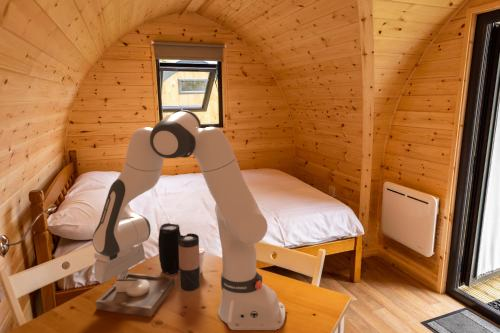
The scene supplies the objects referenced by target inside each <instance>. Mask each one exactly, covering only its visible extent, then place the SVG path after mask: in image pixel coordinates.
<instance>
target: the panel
mask: <svg viewBox="0 0 500 333" xmlns="http://www.w3.org/2000/svg"><path fill="white" fill-rule="evenodd" d="M126 279H138V280H146V281H148V282H149V287H150V290H149V292H148V293H146V294H144V295H142V296H138V297H131V296H128V295H127V293H126V292H116V282H115V283H114V284H113V285H111V287H109V289H108V290H106V292H104V293H103V294H102V295H101V296H100V297H99V298H98V299H96V301H95V309H96V310H98V311H106V312H112V313H120V314H121V313H122V314H128V315H135V316H136V315H137V316H144V317H153V315H154V314H155V313H156V311H157V310H158V308H159V307H160V306H161V304H162V303H163V302H164V301H165V299H166V298H167V297H168V295H169V294H170V292H171V291H172V290H173V289H174V287H175V285H176V277H174V276H165V275H156V274H155V275H154V274H145V273H137V272H136V273H135V272H129V271H128V273H127V276H126Z"/></svg>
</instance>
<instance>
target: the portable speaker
mask: <svg viewBox="0 0 500 333" xmlns="http://www.w3.org/2000/svg"><path fill="white" fill-rule="evenodd" d="M180 227H181V226H180V225H179V223H178V224H177V223H176V224H174V223H169V222H168V223H167V222H166V223H163V224H162V225H161V226H160V227H159V232H158V241H157V242H158V257H159V258H158V259H159V264H160V268H161V272H162V273H166V274H168V275H169V276H174V275H177V274H178V273H180V271H179V243H178V238H179V236H181V235H182V234H181V231H180V230H181V229H180Z"/></svg>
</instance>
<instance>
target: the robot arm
mask: <svg viewBox="0 0 500 333" xmlns="http://www.w3.org/2000/svg"><path fill="white" fill-rule="evenodd" d="M191 156H193V157H194V158H195V160H196V162H197V164H198V166H199V169H200V171H201V174H202V176H203V178H204V181H205V184H206V186H207V188H208V191H209V192H210V194H211V196H212V198H213V200H214V201H215V202H214V203H215V206H214V212H215V216H216V220H217V226H218V228H217V229H218V235H219V240H220V245H221V255H222V258H221V259H222V262H221V263H222V272H221V274H220V275H221V277H220V285H221V290H222V291H221V298H220V299H221V300H220V303H219V307H218V311H217V312H218V313H217V314H218V317H219V319H220V320H221V321H222V322H224V323H225V324H227V326H228V328H229V329H230V330H231V331H278V330H280V329H281V328H282V327H283V325H284V324H285V320H286V307H285V305H284V304H283V303H282V302H281V301H279V298H278V294H277V293H276V291H275V290H273V289H272V288H271V287H269V286H267V285H266V284H265V283H263V272H261V273H258V272H257V249H256V246H255V244H258V243H260V242H261V241H262V240H263V239H264V238H265V236H266V234H267V231H268V228H269V227H268V221H267V219H266V218H265V216H264V214H263V213H262V211H261V209H260V208H259V206H258V203H257V202H256V199H255V197H254V194H253V193H252V192H251V190H250V188H249V187H248V184H247V182H246V181H245V179H244V177H243V174H242V171H241V168H240V166H239V163H238V160H237V158H236V155H235V152H234V149H233V148H232V145H231V144H230V142H229V140H228V138H227V137H226V134H225V133H224V131H223V130H222V129H221V128H219V127H215V126H208V127H203V128H202V124H201V121H200V119H199V117H198V116H197V114H196V113H195V112H193V111H190V110H187V109H181V110H176V111H174V112H172V113H171V114H168V115H166V116H165V117H163V118H162V119H161V120H160V121H159V122H158V123H156V124H155V125H154V127H153V128H152V127H148V126H144V127H140V128H137V129H135V130H134V131H133V133H132V134H131V137H130V140H129V142H128V146H127V149H126V156H125V162H124V165H123V167H122V170H121V172H120V173H119V176H118V177H117V178H116V179H115V180H114V181H113V182H112V184H111V185H110V188H109V190H108V192H107V196H106V199H105V203H104V206H103V209H102V213H101V215H100V219H99V222H98V224H97V226H96V228H95V231H94V232H93V235H92V245H93V247H94V250H95V252H94V253H93V254H94V255H93V257H94V259H96V260H95V261H94V268H93V270H94V271H93V272H94V279H95V280H96V281H97V282H99V283H102V284H105V283H106V282H108V281H111V279H113V278H114V277H117V278H118V279H126V276H127V273H128V272H129V269H131V268H132V267H133V266H135V265H137V264H139V263H141V262H142V261H143V260H145V256H146V253H145V249H144V245H143V243H144V242H146V241H147V240H149V238H150V236H151V229H152V228H151V224H150V222H149V220H148V219H147V218H146V217H145V216H143V215H140V214H138V213H136V212H135V210H134V211H133V209H132V208H131V206H130V204H129V203H130V202H131V201H133V200H134V199H136V198H137V197H139V196H140V195H143V194H144V193H146V192H148V191H151V189H153V188H154V187H155V186H156V185H157V184H158V182H159V180H160V178H161V175H162V170H163V165H164V160H165V159H176V158H177V159H178V158H190V157H191ZM277 329H278V330H277Z"/></svg>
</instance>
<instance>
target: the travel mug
mask: <svg viewBox="0 0 500 333" xmlns="http://www.w3.org/2000/svg"><path fill="white" fill-rule="evenodd" d="M178 243H179V282H180V284H179V285H180V289H181V290H182V291H184V292H193V291H197V290H198V289H199V288H200V283H201V282H200V281H201V280H200V279H201V278H200V277H201V273H200V259H199V247H200V237H199V235H198V234H197V233H191V232H190V233H187V234H185V235H182V234H181V236H179V238H178Z"/></svg>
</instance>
